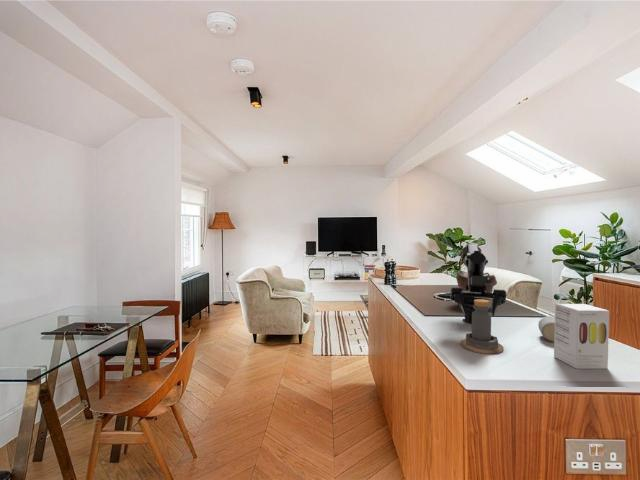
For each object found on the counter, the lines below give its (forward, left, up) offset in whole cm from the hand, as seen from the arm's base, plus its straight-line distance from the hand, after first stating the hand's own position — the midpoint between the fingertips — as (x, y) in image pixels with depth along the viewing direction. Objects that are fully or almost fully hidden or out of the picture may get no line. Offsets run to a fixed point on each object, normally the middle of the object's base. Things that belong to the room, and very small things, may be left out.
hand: (478, 314), depth 119 cm
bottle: (+6, +6, -8) cm, 12 cm away
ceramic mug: (-25, +11, -9) cm, 29 cm away
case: (-42, -41, -9) cm, 60 cm away
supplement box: (-10, +27, -9) cm, 31 cm away
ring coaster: (+6, +6, -9) cm, 12 cm away
